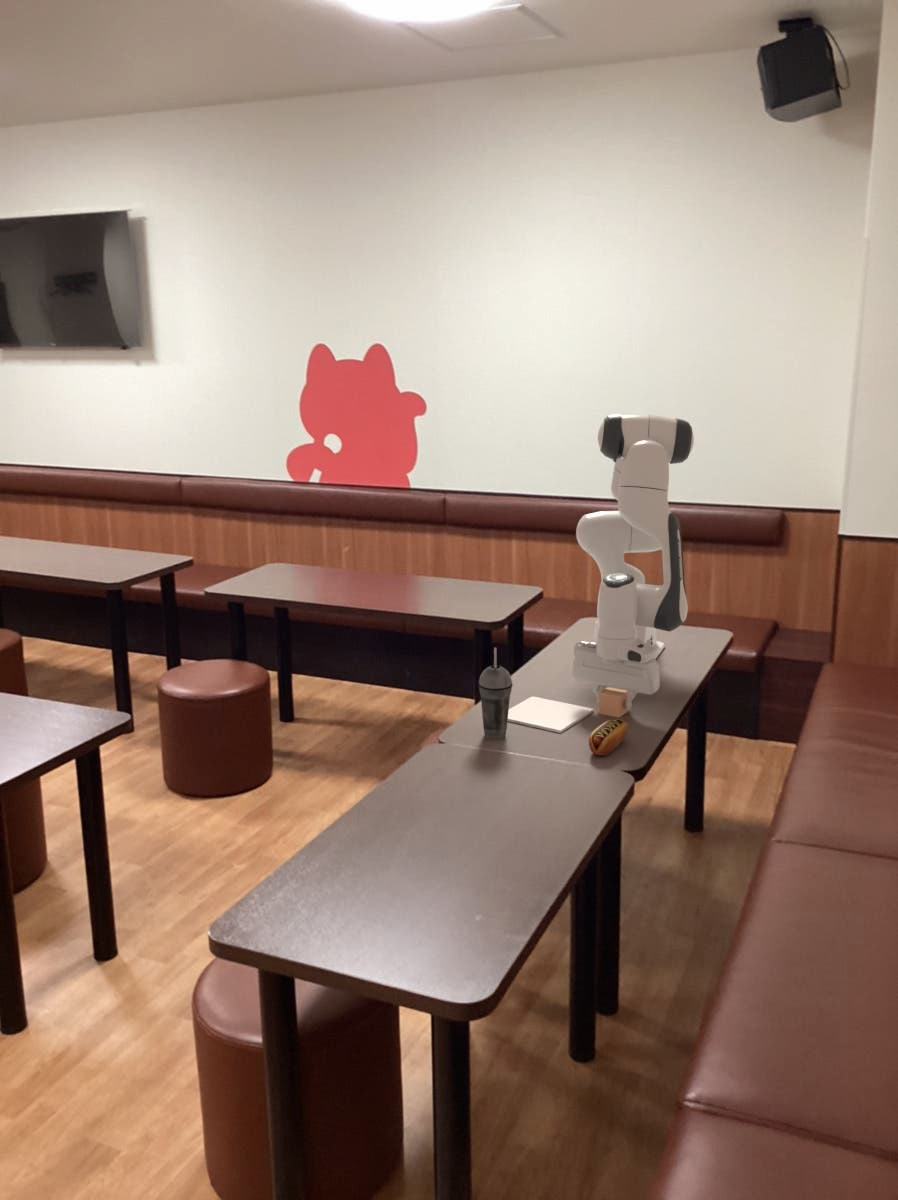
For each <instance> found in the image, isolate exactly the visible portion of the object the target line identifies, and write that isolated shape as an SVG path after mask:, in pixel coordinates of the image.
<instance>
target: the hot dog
mask: <svg viewBox="0 0 898 1200" xmlns="http://www.w3.org/2000/svg"><path fill="white" fill-rule="evenodd" d="M628 727H629V726H628V723H627V722H625V720H623V719H622V718H621V717H619V718H618V717H616V718H614V719H608V720H605V722H603V723H602V724H600V725H599V726H597V727H596V728H595V729H594V730H593V731H591V733H590V735H589V737H588V747H589V749H590V751H591V752H592V754H594V755H597V756H607V755H609V754H610V753H612V752H613V751H614V750H615V749H616V748H618V746H619V745H620V744H621V743H622V742H623V740H624V739H625V737H626V736H627V733H628Z"/></svg>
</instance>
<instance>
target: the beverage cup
mask: <svg viewBox="0 0 898 1200" xmlns="http://www.w3.org/2000/svg"><path fill="white" fill-rule="evenodd" d="M497 650H498V649H497V647H494V648H493V655H494V656H493V665H490V666H487V667H486V668H485V669H484V670H483V671H482V673H481V674H480V676H479V679H478V684H477V685H478V689H479V694H480V701H481V713H482V723H483V725H482V727H483V731H484V733H483V734H484V738H486V739H488V740H494V741H495V740H496V741H497V740H503V739H505V738H506V735H507V734H506V733H507V729H508V721H507V720H508V710H509V709H510V708H509V707H510V701H511V700H510V698H511V694H512V688H513V685H514V684H513V681H512V677H511V674H510V673H509V671H508V670H507V669H506V668H505V667H503V666H501V665H497V664H498V663H497V660H498V659H497V658H498V657H497Z"/></svg>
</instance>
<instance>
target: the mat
mask: <svg viewBox="0 0 898 1200" xmlns="http://www.w3.org/2000/svg"><path fill="white" fill-rule="evenodd" d="M593 712H595V710H594V708H592V707H586V706H581V705H576V704H572V703H566V702H562V701H557V700H554V699H553V700H551V699H547V698H543V697H537V696H534V695H533V696H530V697H528V698H527V699H526V698H525V700H523V701H521V702H520V703H518V704H516V705H514V706H512V707H510V708H509V710H508V720H507V722H511V723H515V724H519V725H523V726H527V727H532V728H537V729H540V730H545V731H548V732H549V731H550V732H554V733H557V734H558V733H559V734H562V733H563V732H565V731H566V730H568V729H569V728H571V727H573V726H574V725H575V724H577V723H578V722H580V721H581V720H583V719H584V718H586V717H587V716H589V715H591V714H592V713H593Z"/></svg>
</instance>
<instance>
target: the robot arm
mask: <svg viewBox="0 0 898 1200" xmlns="http://www.w3.org/2000/svg"><path fill="white" fill-rule="evenodd" d="M599 426H600V427H599V429H598V432H597V442H598V446H599V447H598V448H599V451H600V452H601V453H602V455H604V457H607V458H608V459H611V460H612V461H613V462H614V466H613V467H614V468H613V472H612V473H613V474H612V480H611V486H610V490H611V494H612V496H613V497H614V499H615V500H616V501H617V508H618V509H617V510H601V511H595V512H592V513H591V512H590V513H587V514H586V513H585V514H584V515H582V517H581V518H580V519H579V521H578V523H577V526H576V529H575V531H576V532H575V537H576V540H577V543H578V544H579V546H580V547H581V549H582V550H583V551H585V552H586V553H587V554H589V556H591V557H592V559H593V560H594V561H595V563H596V564H597V566H598V569H599V572H600V576H601V582H600V585H599V591H598V596H597V606H596V609H597V610H596V616H597V617H596V618H597V620H596V621H595V623H594V633H593V641H592V642H588V641H584V640H580V641H579V642H577V643H575V644H574V647H573V656H574V657H573V663H572V670H571V676H572V678H573V680H574V681H577V682H581V683H587V684H592V685H591V687H592V690H593V692H594V694H595V696H596V703H597V704H599V692H601V691H602V689H601V687H606V688H607V687H611V688H617V689H622V690H627V691H628V695H629V698H628V699H625V700H624V701H623V708H625V709H628V710H630V709H631V708H632V705H633V703H632V701H633V700H634V698H635V697H636V695H637V694H644V695H648V696H651V695H653V694H655V693H656V692H657V691H658V690H659V688H660V685H661V684H660V683H661V682H660V681H661V680H660V679H661V678H660V666H659V663H658V661H657V660H656V659H657V658H658V656H660V654H661V652H662V651H663V650H664V648H665V647H666V646H665V643H664V642H662V641H659V640H657V630H659V631H660V630H661V631H665V632H672V631H674V630H676V629H678V628H679V627H681V626H682V625H683V624H684V623H685V622H686V620H687V615H688V609H689V608H688V599H687V593H686V585H685V570H684V554H683V553H684V552H683V539H682V530H681V529H682V528H681V523H680V520H679V518H678V516H677V515H675V514H674V513H672V511H671V508H670V506H669V501H668V499H669V497H668V496H669V495H668V493H669V492H668V491H669V485H670V483H669V482H670V481H669V480H670V468H669V467H670V465H673V464H674V465H675V464H680V463H684V462H685V461H686V460H687V459H689V455H690V454H691V452H692V450H693V447H694V442H695V438H694V433H693V426H691V424H690V423H689V422H688V421H686V420H683V419H680V418H678V417H676V418H671V417H666V416H661V415H653V414H647V415H645V414H621V413H615V414H609V415H607V416H606V417H604V419H603V421H602V423H601V425H599ZM669 464H670V465H669ZM657 551H658V552H659V551H661V555H662V572H663V574H662V575H663V584H662V585H658V584H657V585H656V584H648V583H647V584H646V577H645V575H644V573H643V572H642V571H641V570H640V569H638V567H636V566H634V565H631V564H629V563H627V562H626V561H625V554H628V553H652V552H657Z"/></svg>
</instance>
